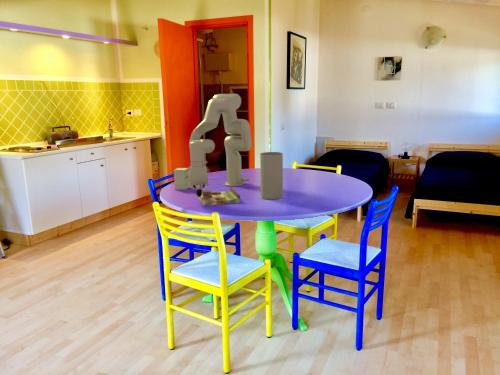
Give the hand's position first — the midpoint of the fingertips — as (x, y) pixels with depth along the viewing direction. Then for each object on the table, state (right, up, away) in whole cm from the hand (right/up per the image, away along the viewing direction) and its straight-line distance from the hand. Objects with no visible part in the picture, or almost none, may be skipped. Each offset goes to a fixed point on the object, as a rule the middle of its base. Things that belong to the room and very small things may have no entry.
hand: (199, 196), depth 229 cm
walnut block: (+4, 0, +1) cm, 4 cm away
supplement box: (-15, +4, +32) cm, 35 cm away
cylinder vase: (+41, -1, +7) cm, 41 cm away
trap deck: (+10, -2, +3) cm, 11 cm away
